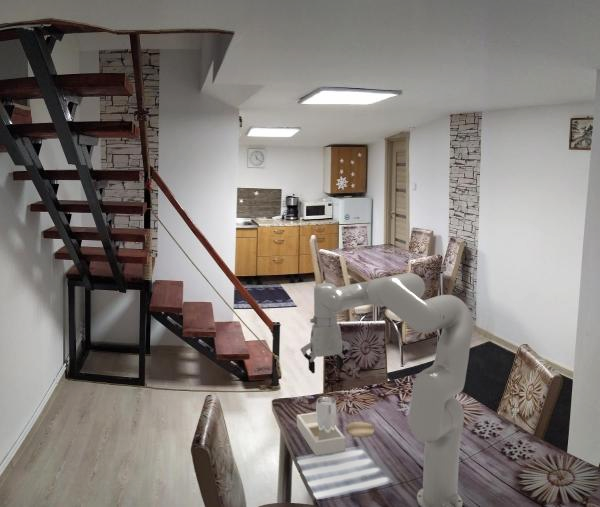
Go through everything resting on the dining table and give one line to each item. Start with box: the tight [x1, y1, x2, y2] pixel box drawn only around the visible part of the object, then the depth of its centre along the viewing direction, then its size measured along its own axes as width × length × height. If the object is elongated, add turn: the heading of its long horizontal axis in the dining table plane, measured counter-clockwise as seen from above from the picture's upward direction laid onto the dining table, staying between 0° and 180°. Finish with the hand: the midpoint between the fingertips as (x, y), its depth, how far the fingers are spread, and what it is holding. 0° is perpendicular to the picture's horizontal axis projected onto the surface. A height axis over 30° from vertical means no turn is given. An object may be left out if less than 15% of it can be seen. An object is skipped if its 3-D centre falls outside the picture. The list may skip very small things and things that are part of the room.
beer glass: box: [315, 396, 337, 441], centre depth 184 cm, size 7×7×15 cm
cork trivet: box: [346, 421, 375, 438], centre depth 196 cm, size 10×10×1 cm
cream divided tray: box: [296, 411, 346, 456], centre depth 190 cm, size 21×10×5 cm, turn 18°
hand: (325, 370), depth 181 cm, fingers open, 9 cm apart
